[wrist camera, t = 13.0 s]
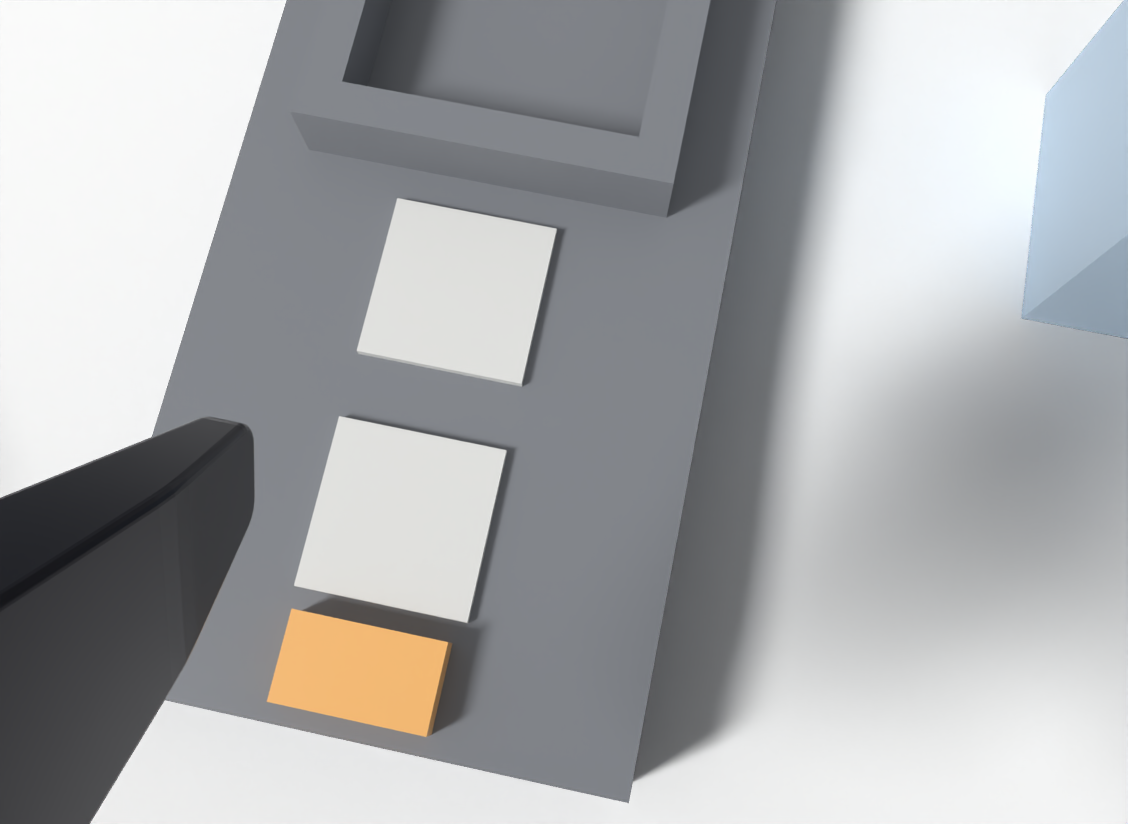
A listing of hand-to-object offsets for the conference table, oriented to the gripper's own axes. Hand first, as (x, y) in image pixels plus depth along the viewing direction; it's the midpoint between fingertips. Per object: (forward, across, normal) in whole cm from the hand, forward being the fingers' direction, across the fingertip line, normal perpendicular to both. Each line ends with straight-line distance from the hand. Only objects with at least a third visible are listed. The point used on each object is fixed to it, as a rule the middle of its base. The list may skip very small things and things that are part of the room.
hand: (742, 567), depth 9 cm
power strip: (+14, +5, +4) cm, 15 cm away
